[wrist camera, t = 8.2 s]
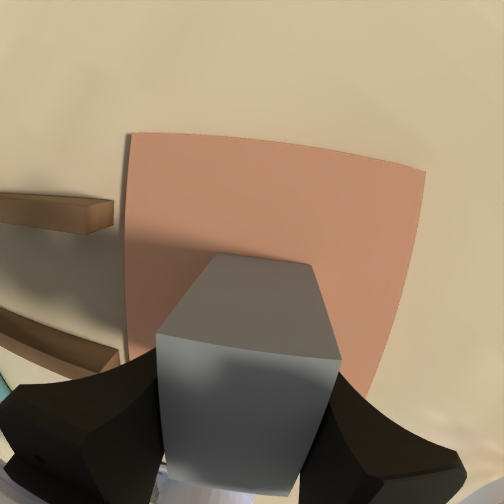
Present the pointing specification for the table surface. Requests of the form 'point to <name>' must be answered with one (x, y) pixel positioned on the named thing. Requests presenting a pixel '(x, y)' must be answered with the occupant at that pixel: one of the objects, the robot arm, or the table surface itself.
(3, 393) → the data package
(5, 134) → the table surface
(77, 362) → the frame
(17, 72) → the table surface
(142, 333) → the mat
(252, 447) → the blank block
